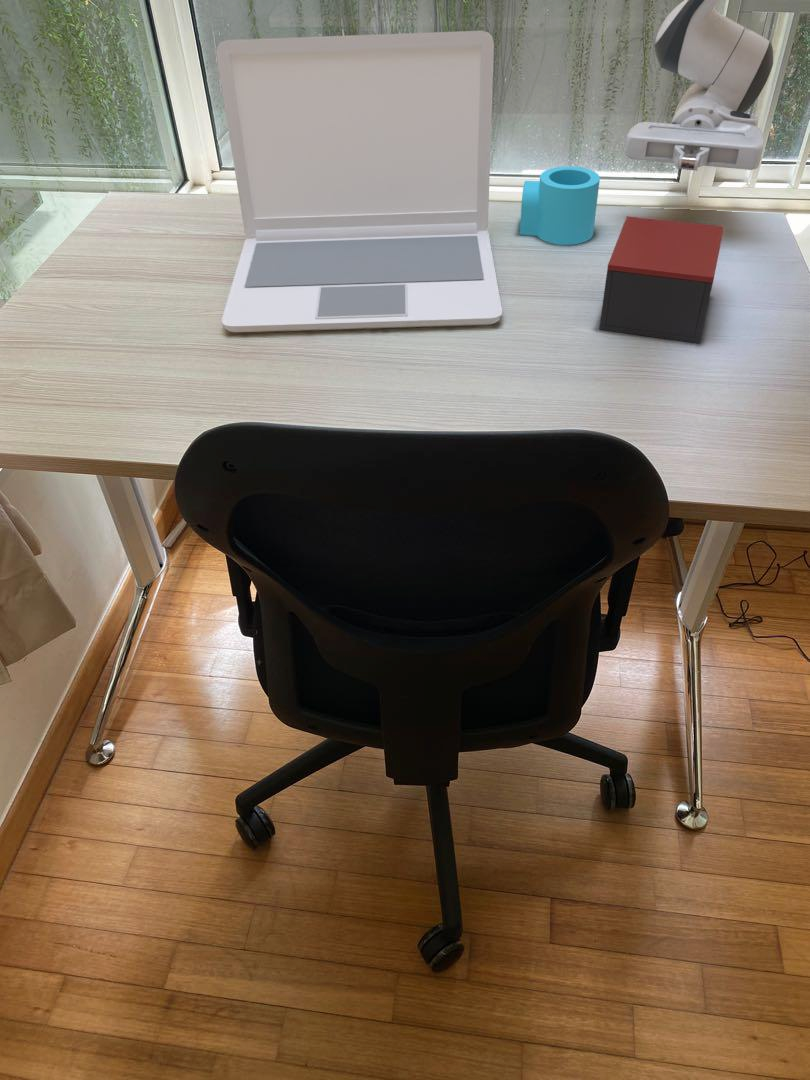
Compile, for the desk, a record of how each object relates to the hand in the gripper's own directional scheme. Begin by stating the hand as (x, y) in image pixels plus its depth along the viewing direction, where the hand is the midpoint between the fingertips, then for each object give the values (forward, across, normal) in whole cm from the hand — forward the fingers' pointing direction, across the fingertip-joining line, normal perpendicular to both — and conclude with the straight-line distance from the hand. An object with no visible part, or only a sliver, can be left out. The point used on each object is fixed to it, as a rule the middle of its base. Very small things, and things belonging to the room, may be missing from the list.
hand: (687, 164), depth 129 cm
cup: (-3, -19, +14) cm, 24 cm away
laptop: (+22, -44, +14) cm, 51 cm away
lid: (+18, 0, +5) cm, 19 cm away
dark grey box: (+20, 0, +14) cm, 24 cm away
